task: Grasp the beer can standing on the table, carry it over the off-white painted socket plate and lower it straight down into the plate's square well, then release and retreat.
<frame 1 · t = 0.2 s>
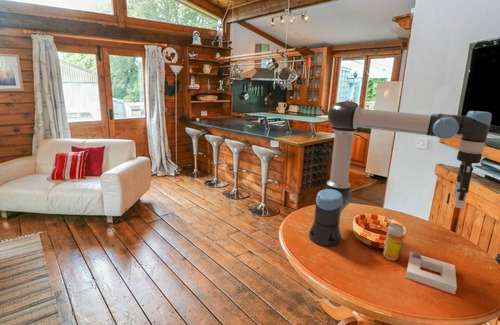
hand: (457, 202, 117), 27 cm above the table, fingers open, 13 cm apart
beer can: (390, 257, 125), on the table
socket plate: (429, 274, 114), on the table
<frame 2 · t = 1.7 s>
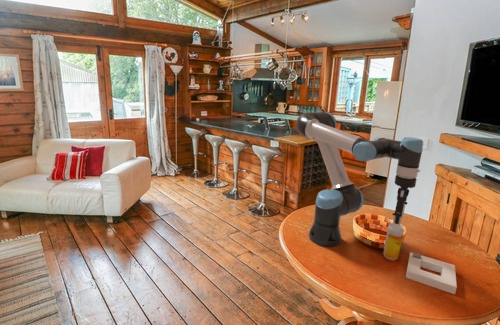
hand: (397, 223, 121), 16 cm above the table, fingers open, 13 cm apart
nothing on the table moved.
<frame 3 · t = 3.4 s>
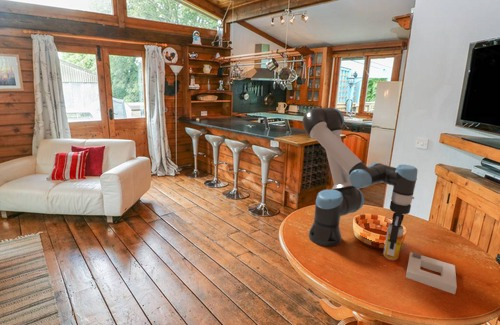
hand: (391, 251, 125), 3 cm above the table, fingers closed on beer can, 6 cm apart
beer can: (390, 257, 125), on the table, touching gripper
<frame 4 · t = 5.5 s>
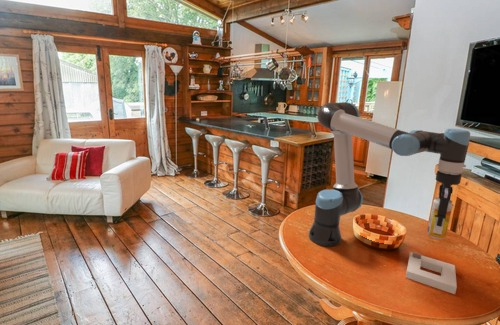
hand: (437, 229, 110), 20 cm above the table, fingers closed on beer can, 6 cm apart
beer can: (435, 236, 111), point 17 cm above the table, touching gripper
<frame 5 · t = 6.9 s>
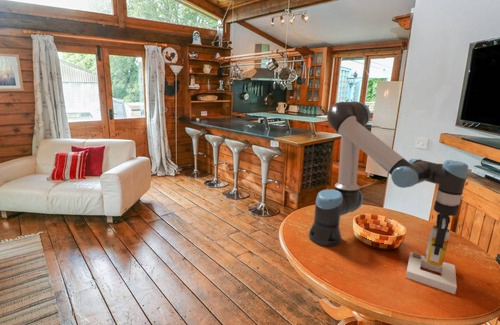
hand: (434, 256, 112), 8 cm above the table, fingers closed on beer can, 6 cm apart
beer can: (432, 263, 113), point 5 cm above the table, touching gripper
when the fingers open (5 cm above the table, at t = 7.8 s): beer can drops 2 cm, resting in socket plate.
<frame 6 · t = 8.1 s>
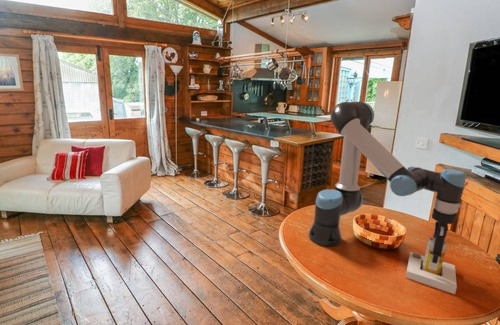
hand: (432, 262, 113), 6 cm above the table, fingers open, 9 cm apart
beer can: (429, 274, 115), resting in socket plate
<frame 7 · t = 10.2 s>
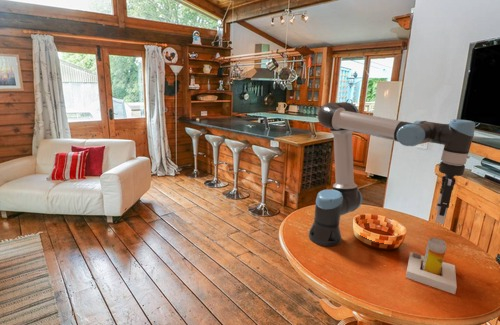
hand: (439, 216, 109), 25 cm above the table, fingers open, 13 cm apart
nothing on the table moved.
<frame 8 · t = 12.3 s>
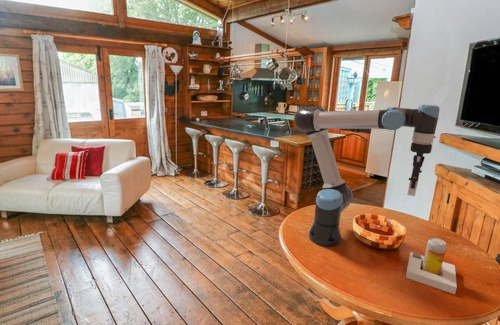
hand: (412, 190, 124), 29 cm above the table, fingers open, 13 cm apart
nothing on the table moved.
at the end: beer can 0.1 cm off-centre on the socket plate, point 0.0 cm above the socket plate's base; beer can tilted 0°; the gripper is holding nothing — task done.
